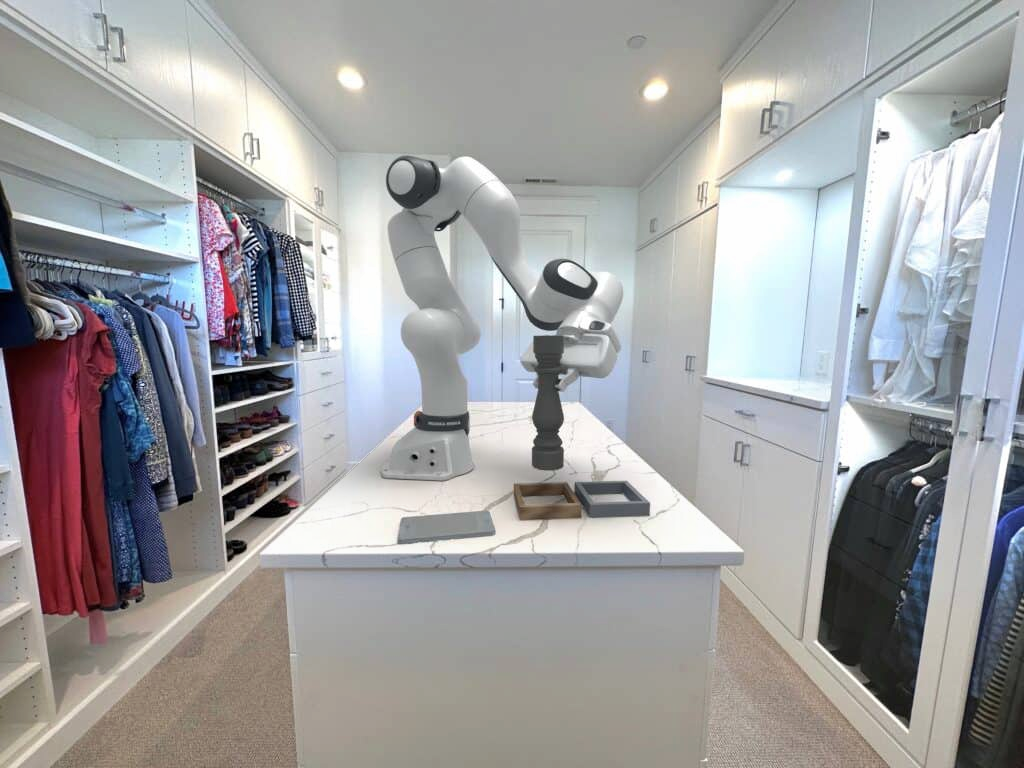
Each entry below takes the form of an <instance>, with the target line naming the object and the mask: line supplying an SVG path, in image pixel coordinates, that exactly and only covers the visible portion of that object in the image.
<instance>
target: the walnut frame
mask: <svg viewBox="0 0 1024 768" xmlns="http://www.w3.org/2000/svg"><path fill="white" fill-rule="evenodd" d="M554 496H555V497H558V496H559V497H560V496H561V497H562V496H563V498H564V499H565V501H566V503H559V502H558V503H535V504H533V503H531V504H525V501H524V498H525V497H528V498H529V497H554ZM513 499H514V503H515V507H516V511H517V514H518V519H519V521H537V520H538V521H539V520H567V519H582V517H583V516H582V511H583V506H582V504H581V503H580V501H579V500H578V498H577V497H576V495H575V493H574V490H573V488H572V487H571V486H570V484H569V482H567V481H564V482H563V481H559V482H555V481H554V482H525V483H524V482H523V483H522V482H519V483H518V482H517V483H516V482H515V483H513Z"/></svg>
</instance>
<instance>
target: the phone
mask: <svg viewBox="0 0 1024 768" xmlns="http://www.w3.org/2000/svg"><path fill="white" fill-rule="evenodd" d="M495 535H496V527H495V525H494V522H493V518H492V516H491V513H490V511H489V510H478V511H477V510H476V511H465V512H464V511H463V512H450V513H439V514H438V513H437V514H426V515H425V514H424V515H413V516H404V517H401V518H400V522H399V528H398V534H397V544H399V545H406V544H419V543H418V542H421V543H430V542H429V541H431V542H437V541H436V540H442V541H448V540H449V541H451V539H453V540H462V539H463V540H464V539H473V538H483V537H494V536H495Z"/></svg>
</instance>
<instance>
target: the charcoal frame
mask: <svg viewBox="0 0 1024 768" xmlns="http://www.w3.org/2000/svg"><path fill="white" fill-rule="evenodd" d="M573 492H574V493H575V495H576V497H577V498H578V500H579V501H580V503H581V504H582V509H584V511H585V513H586V514H587V516H588V517H589V518H594V519H596V518H623V517H624V518H625V517H650V516H651V515H650V514H651V502H650V501H649V500H648V499H647V498H646V497H645V496H643V494H641V492H640V491H638V490H637V488H635V487H634V486H633V485H632V484H631V482H629V481H628V480H606V481H605V480H602V481H601V480H598V481H574V490H573ZM593 495H594V496H595V495H596V496H597V495H599V496H600V495H624V496H625V497H626V498H627V499H628V500H626V501H624V500H623V501H599V502H598V501H596V502H595V501H594V500H593V499H592V498H591V496H593Z"/></svg>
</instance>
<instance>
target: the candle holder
mask: <svg viewBox="0 0 1024 768" xmlns="http://www.w3.org/2000/svg"><path fill="white" fill-rule="evenodd" d="M532 342H533V353H535V358H536V359H537V362H538V366H536V367H535V372H534V373H535V374H536V373H537V375H538V388H537V393H536V398H535V403H534V407H533V410H532V415H531V420H532V424H533V425H534V428H536V433H537V434H536V435H535V437H534V438H533V440H532V443H533V445H532V447H531V467H532V468H533V469H536V470H539V471H544V472H548V471H550V472H553V471H558V470H561V469H563V468H564V461H565V459H564V458H565V454H564V453H565V451H564V447H563V446H562V445H563V442H564V441H563V440H562V438H561V436H560V435H559V433H560V429H561V428H562V426H563V425H564V422H565V415H564V410H563V406H562V402H561V397H560V393H559V392H560V391H557V390H556V389H555V387H554V384H555V383H556V381H557V379H559V376H560V372H562V368H561V367H560V366H559V362H560V359H561V358H562V354H563V353H564V336H559V335H556V334H553V335H552V334H551V335H549V334H545V335H533V340H532Z"/></svg>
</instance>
